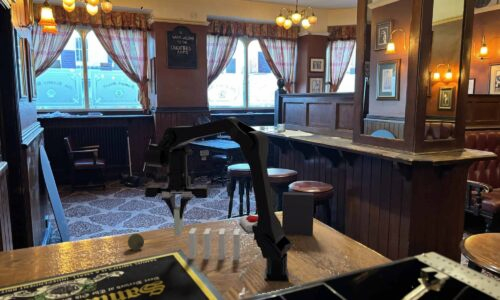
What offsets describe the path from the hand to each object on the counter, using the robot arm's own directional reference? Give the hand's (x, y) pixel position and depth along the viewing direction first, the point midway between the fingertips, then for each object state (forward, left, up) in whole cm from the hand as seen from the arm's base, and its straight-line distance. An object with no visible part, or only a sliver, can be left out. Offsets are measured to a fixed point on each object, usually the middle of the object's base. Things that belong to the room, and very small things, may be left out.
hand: (178, 218), depth 116 cm
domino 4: (0, -13, -12) cm, 18 cm away
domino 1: (+1, 0, -5) cm, 5 cm away
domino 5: (0, -18, -12) cm, 21 cm away
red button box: (+30, -22, -12) cm, 39 cm away
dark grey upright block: (+22, -38, -12) cm, 45 cm away
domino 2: (0, -4, -12) cm, 12 cm away
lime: (+4, +15, -12) cm, 20 cm away
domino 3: (0, -9, -12) cm, 15 cm away
